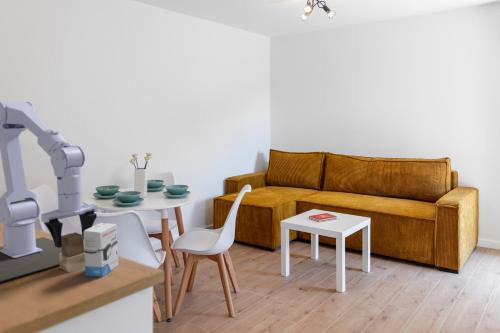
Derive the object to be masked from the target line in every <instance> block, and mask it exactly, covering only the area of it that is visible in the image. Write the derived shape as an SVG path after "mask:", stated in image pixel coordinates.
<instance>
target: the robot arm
mask: <svg viewBox="0 0 500 333" xmlns="http://www.w3.org/2000/svg"><path fill="white" fill-rule="evenodd" d="M27 130H28V131H29V132H30V133H31V134H33V135H34V136H35V137H37V144H38V146H39V147H40V148H41V149H42V150H43V151H44V152H45V153H46V154H47V155H48V156H49V157H50V158H49V160H50V164H51V166H52V169H53V175H54V176H55V177H56V185H57V186H56V189H57V190H56V191H57V204H58V209H54V210H51V211H49V212H45V213H41V209H42V208H41V205H40V204H41V203H40V202H39V201H38V197H37V194H36V193H35V192H34V191H31V190H30V189H28V186H27V181H26V174H25V169H24V168H25V167H24V161H23V154H22V150H21V144H20V137H19V136H20V134H21V133H23V132H25V131H27ZM0 160H1V163H2V170H3V176H4V177H3V178H4V182H5V188H6V191H5V192H4V193H3V194H2V195H1V196H0V223H1V224H2V225H3V227H2V233H1V234H2V243H3V244H2V245H3V249H0V252H1V253H3V254H4V255H7V256H9V257H10V258H13V259H16V258H20V257H21V258H22V257H24V256H28V255H33V254H37V253H38V252H43V249H42V248H41V247H37V242H36V241H37V240H36V229H35V228H36V226H35V222H37V219H38V218H39V217H40V220H41V222H42V223H43V224H44V226H46V229H47V230H48V231H49V234H50V235H51V238H52V241H53V243H54V247H55V248H58V249H60V248H62V238H61V236H62V233H63V232H62V229H63V224H64V223H63V222H62V221H61V222H60V220H61V219H66V218H71V217H75V216H78V218H79V221H80V226H81V235H83V240H84V231H85V230H86V229H88V228H91V227H93V225H94V223H95V221H96V219H97V212H99V208H98V206H99V205H98V204H95V203H91V204H86V205H84V204H83V197H82V196H83V193H82V174H81V168H82V167H83V166H84V164H85V162H86V156H85V152H84V151H83V149H82V147H81V146H78V145H73V144H70V143H69V142H68V141H67V140H66V139H65V138H64V137H63V136H62V135H61V134H60V132H59V130H57V129H53V128H52V129H51V128H48V127H47V125H46V124H45V123H44V122H43V121H42V119H41V118H40V116H38V110H37V107H36V106H35V105H34V104H33V103H32V102H30V101H26V102H24V101H23V102H22V101H21V102H20V101H19V102H18V101H0Z"/></svg>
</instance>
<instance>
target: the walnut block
mask: <svg viewBox="0 0 500 333" xmlns="http://www.w3.org/2000/svg"><path fill="white" fill-rule="evenodd" d="M61 238H62V247H61V253H62V254H63V255H65V256H68V257H73V256H76V255H80V254H83V253H84V252H85V251H84V239H83V235H82V233H78V232H71V233H67V234H63V235H62V234H61Z"/></svg>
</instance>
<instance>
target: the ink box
mask: <svg viewBox="0 0 500 333" xmlns="http://www.w3.org/2000/svg"><path fill="white" fill-rule="evenodd" d="M83 240H84V252H85V268H84V269H85V270H84V272H85V273H84V274H85V276H87V277H99V278H103V277H105V275H107V274H108V273H109V272H111V271H112V270H114V269H115V268H117V267H118V266H119V249H118V247H119V246H118V244H119V242H118V224H117V223H109V222H108V223H107V222H100V223H98V224H95V225H94V226H93V225H92V227H91V228H88V229H86V230H85V231H84V239H83Z"/></svg>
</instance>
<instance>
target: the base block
mask: <svg viewBox="0 0 500 333" xmlns="http://www.w3.org/2000/svg"><path fill="white" fill-rule="evenodd" d="M58 256H59V257H58V258H59V259H58V260H59V269H61V270H64V271H65V272H67V273H72V272H76V271H78V270H81V269H85V251H84V253H83V254H80V255H76V256H73V257H68V256H65V255H63V254H62V252H61V253H59V254H58Z"/></svg>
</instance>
